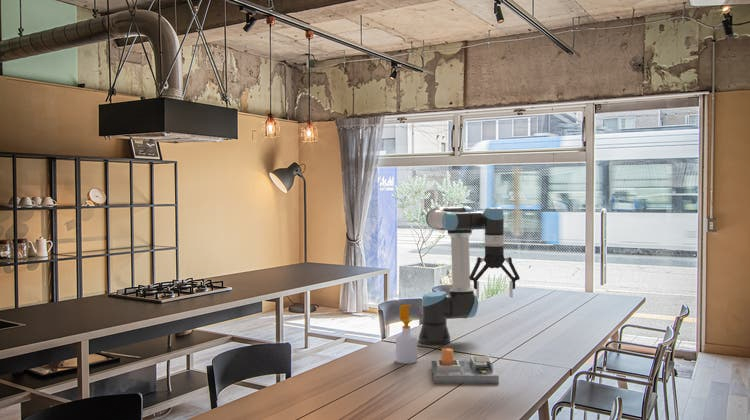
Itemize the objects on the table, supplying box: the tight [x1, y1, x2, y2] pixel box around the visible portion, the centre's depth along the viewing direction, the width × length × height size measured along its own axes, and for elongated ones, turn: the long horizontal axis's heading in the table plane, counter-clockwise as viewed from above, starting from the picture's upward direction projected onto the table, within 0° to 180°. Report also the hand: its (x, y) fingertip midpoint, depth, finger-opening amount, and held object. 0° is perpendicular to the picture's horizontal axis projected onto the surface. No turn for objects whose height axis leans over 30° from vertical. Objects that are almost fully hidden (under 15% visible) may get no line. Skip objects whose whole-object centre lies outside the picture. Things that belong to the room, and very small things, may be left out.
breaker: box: [473, 355, 490, 363], centre depth 242 cm, size 9×5×2 cm, turn 178°
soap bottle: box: [395, 304, 418, 365], centre depth 262 cm, size 9×9×25 cm
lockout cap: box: [441, 347, 454, 365], centre depth 242 cm, size 5×5×7 cm
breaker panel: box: [430, 355, 500, 385], centre depth 241 cm, size 20×24×6 cm
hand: (494, 297), depth 252 cm, fingers open, 13 cm apart
